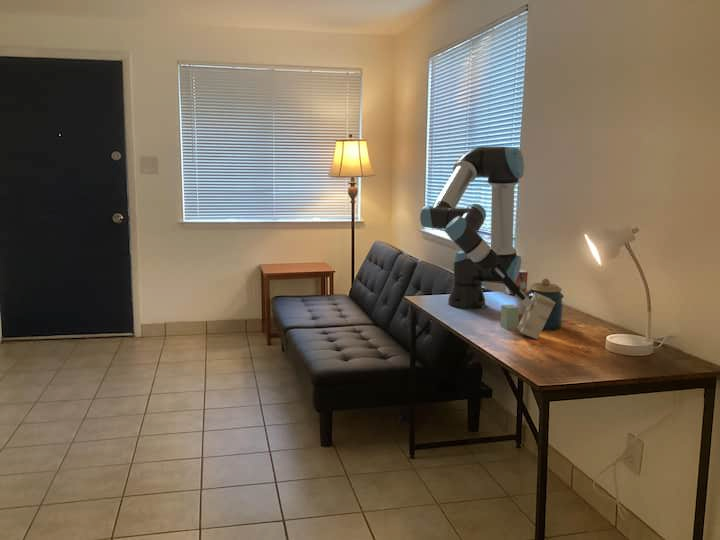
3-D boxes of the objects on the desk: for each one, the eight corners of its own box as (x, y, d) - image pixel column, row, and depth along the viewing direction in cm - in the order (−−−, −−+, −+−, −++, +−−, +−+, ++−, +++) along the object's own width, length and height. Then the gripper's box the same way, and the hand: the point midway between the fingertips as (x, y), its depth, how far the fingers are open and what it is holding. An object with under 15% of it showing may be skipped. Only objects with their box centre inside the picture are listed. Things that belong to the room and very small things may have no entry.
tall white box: (516, 328, 219) (534, 291, 217) (532, 334, 220) (550, 298, 218) (521, 333, 213) (539, 295, 211) (537, 339, 214) (555, 302, 212)
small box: (509, 295, 284) (510, 271, 282) (505, 292, 289) (506, 269, 287) (526, 295, 284) (528, 271, 282) (522, 292, 290) (523, 269, 288)
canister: (555, 332, 223) (559, 283, 220) (519, 327, 230) (522, 279, 227) (565, 325, 233) (569, 278, 230) (531, 319, 240) (534, 274, 237)
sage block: (500, 326, 230) (501, 305, 229) (511, 325, 231) (512, 304, 230) (506, 329, 226) (507, 308, 224) (517, 329, 227) (518, 307, 226)
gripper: (470, 260, 218) (516, 307, 221) (477, 266, 205) (526, 317, 208) (487, 245, 217) (532, 293, 220) (495, 250, 204) (543, 301, 207)
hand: (529, 304), depth 214 cm, fingers closed
